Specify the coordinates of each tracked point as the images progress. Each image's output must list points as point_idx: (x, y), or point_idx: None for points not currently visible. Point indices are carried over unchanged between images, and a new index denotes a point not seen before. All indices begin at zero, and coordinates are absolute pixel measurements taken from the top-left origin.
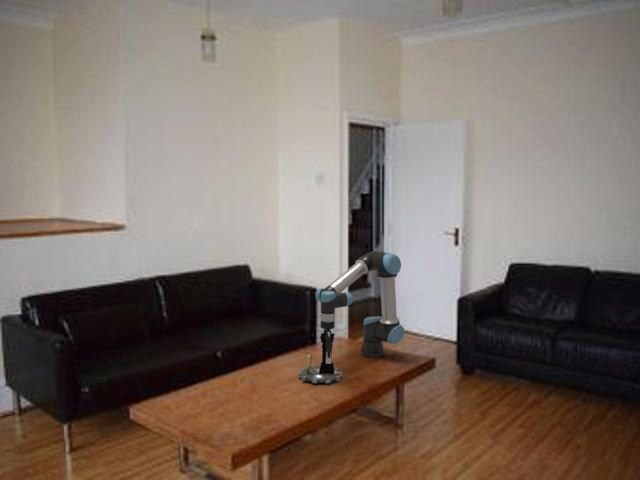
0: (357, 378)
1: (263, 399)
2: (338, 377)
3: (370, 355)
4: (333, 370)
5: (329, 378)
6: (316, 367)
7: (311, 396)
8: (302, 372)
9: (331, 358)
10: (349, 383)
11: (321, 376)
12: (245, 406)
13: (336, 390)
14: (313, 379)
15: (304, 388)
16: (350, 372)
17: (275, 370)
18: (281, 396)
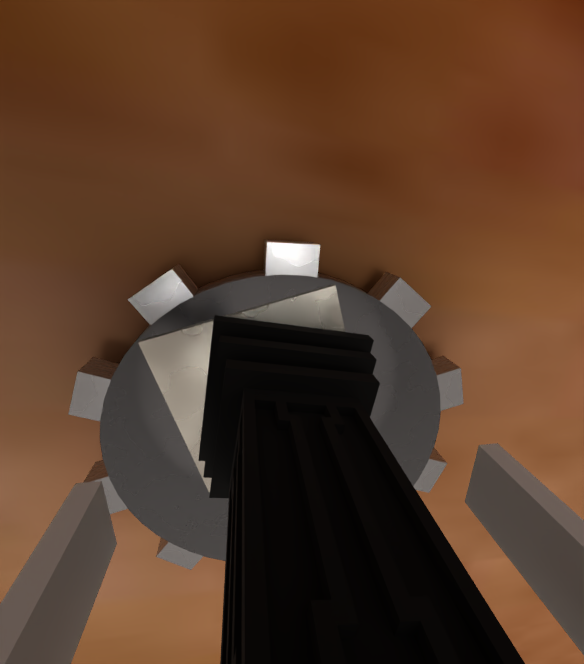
0: (306, 57)
1: (526, 627)
2: (415, 292)
3: None
4: (301, 339)
5: (438, 375)
6: (141, 473)
7: (570, 459)
8: None
9: (338, 451)
10: (428, 184)
11: (384, 434)
12: (566, 659)
13: (537, 314)
14: (431, 484)
15: (448, 496)
16: (101, 101)
17: (119, 655)
18: (519, 577)
